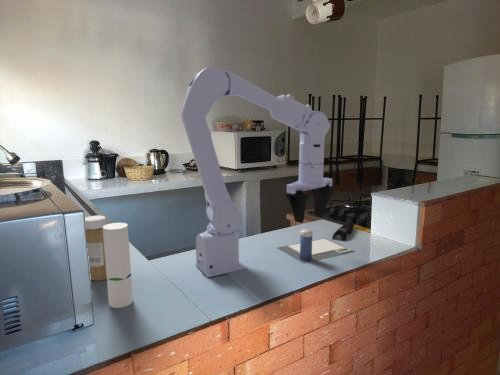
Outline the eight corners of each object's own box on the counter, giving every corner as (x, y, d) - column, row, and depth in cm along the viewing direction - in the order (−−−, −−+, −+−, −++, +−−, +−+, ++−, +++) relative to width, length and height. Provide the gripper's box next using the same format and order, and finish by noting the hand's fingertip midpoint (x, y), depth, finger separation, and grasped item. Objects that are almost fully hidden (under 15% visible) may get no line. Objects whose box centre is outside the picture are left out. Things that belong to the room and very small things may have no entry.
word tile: (340, 253, 96) (340, 252, 96) (333, 250, 98) (333, 249, 98) (352, 251, 98) (352, 249, 98) (345, 248, 100) (345, 246, 100)
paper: (306, 256, 94) (306, 255, 94) (288, 246, 101) (288, 245, 101) (344, 248, 100) (344, 247, 100) (324, 239, 107) (324, 238, 106)
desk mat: (303, 264, 90) (303, 263, 90) (276, 249, 100) (276, 247, 100) (355, 252, 98) (355, 251, 98) (324, 239, 108) (324, 238, 108)
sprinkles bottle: (114, 274, 85) (110, 215, 83) (101, 282, 81) (96, 221, 78) (97, 271, 87) (92, 214, 84) (83, 280, 82) (77, 219, 80)
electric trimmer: (357, 229, 119) (357, 219, 118) (344, 244, 105) (345, 232, 105) (344, 228, 120) (345, 218, 120) (331, 242, 107) (331, 231, 106)
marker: (304, 262, 91) (305, 233, 89) (297, 258, 93) (297, 230, 92) (314, 259, 92) (315, 231, 91) (306, 255, 95) (307, 228, 93)
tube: (105, 302, 73) (98, 226, 70) (126, 294, 76) (120, 221, 73) (115, 310, 70) (109, 231, 67) (137, 302, 73) (132, 225, 70)
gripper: (304, 167, 83) (302, 228, 85) (343, 162, 92) (341, 216, 95) (280, 164, 88) (279, 221, 90) (320, 159, 97) (318, 211, 100)
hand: (309, 218), depth 93 cm, fingers open, 7 cm apart
